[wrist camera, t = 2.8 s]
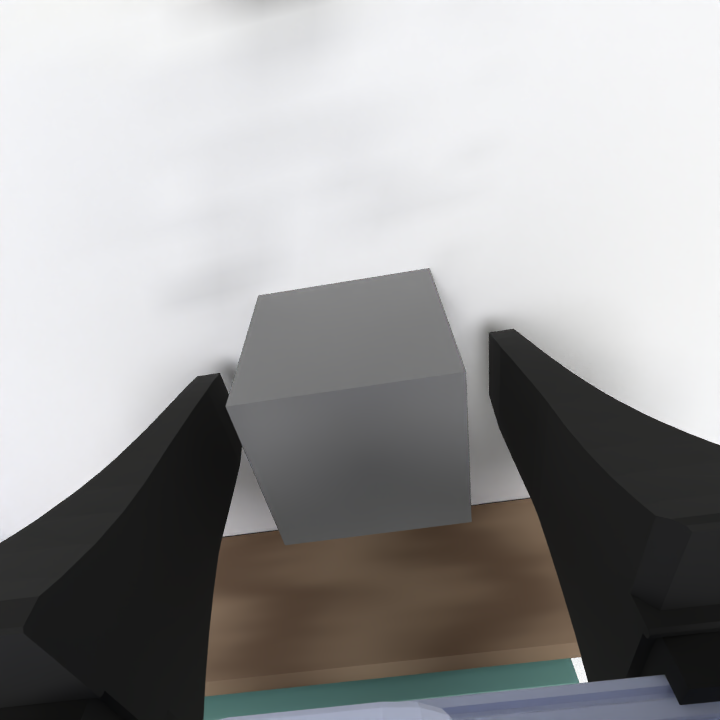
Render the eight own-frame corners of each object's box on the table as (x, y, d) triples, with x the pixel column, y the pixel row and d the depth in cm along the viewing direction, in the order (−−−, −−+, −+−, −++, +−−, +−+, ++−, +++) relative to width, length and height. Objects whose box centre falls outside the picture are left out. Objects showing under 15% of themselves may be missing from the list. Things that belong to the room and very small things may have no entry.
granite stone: (298, 418, 15) (285, 545, 12) (258, 294, 13) (225, 406, 9) (439, 398, 15) (471, 522, 11) (429, 266, 12) (465, 371, 9)
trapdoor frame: (179, 704, 28) (151, 824, 23) (39, 560, 19) (-44, 708, 15) (521, 668, 26) (554, 788, 22) (536, 497, 18) (595, 640, 14)
